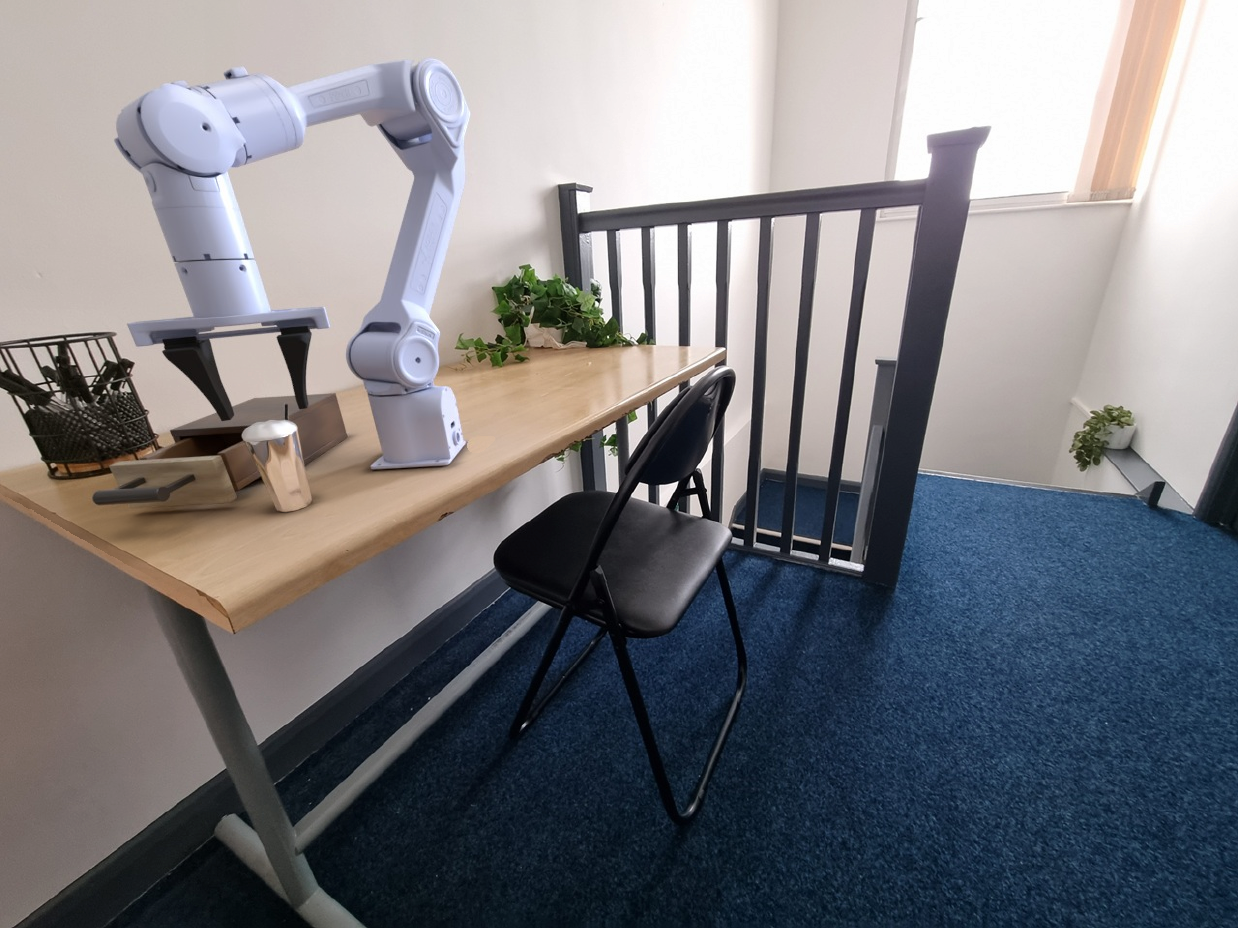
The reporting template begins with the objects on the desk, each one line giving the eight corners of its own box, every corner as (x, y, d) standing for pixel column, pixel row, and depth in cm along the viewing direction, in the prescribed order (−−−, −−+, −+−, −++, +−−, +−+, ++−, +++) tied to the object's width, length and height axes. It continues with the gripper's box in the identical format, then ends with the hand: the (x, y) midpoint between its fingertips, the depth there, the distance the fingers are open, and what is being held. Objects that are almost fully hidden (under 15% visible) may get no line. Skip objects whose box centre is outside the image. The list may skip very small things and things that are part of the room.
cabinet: (288, 477, 59) (270, 424, 57) (191, 482, 59) (169, 430, 57) (347, 437, 73) (335, 393, 70) (269, 441, 73) (254, 397, 70)
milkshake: (334, 492, 54) (307, 403, 50) (300, 515, 49) (267, 418, 45) (295, 492, 55) (266, 404, 51) (258, 515, 50) (222, 420, 46)
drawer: (194, 525, 47) (173, 478, 45) (84, 531, 47) (59, 485, 45) (304, 455, 63) (293, 419, 62) (223, 460, 63) (209, 424, 62)
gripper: (313, 258, 49) (349, 392, 54) (125, 267, 43) (185, 416, 49) (309, 256, 43) (349, 406, 49) (91, 265, 38) (163, 435, 43)
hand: (267, 412), depth 48 cm, fingers open, 6 cm apart
